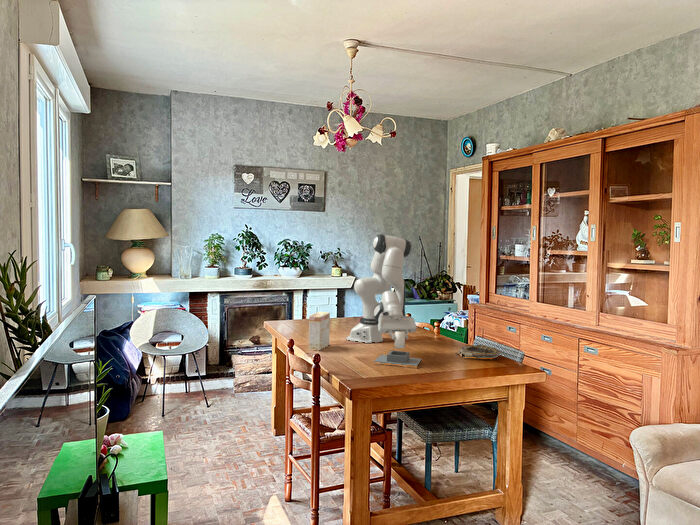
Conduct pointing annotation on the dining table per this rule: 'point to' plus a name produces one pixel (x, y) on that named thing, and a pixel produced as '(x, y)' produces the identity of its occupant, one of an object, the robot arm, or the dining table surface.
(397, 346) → the paper roll
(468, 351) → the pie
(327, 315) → the coffeecake box
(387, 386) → the dining table surface
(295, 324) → the dining table surface
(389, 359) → the roll caddy
